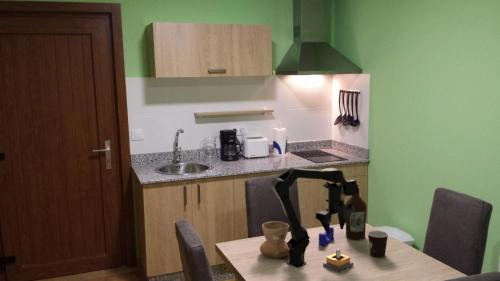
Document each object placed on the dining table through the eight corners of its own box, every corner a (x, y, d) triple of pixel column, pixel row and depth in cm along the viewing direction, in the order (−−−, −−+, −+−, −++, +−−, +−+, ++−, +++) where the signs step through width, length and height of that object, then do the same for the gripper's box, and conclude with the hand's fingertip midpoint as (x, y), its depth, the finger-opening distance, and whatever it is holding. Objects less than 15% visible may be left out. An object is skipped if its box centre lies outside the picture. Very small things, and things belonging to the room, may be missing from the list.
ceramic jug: (292, 262, 199) (292, 230, 197) (259, 262, 199) (259, 230, 198) (290, 247, 217) (290, 218, 215) (260, 247, 217) (259, 218, 216)
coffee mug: (388, 259, 199) (388, 237, 198) (368, 258, 201) (368, 236, 199) (386, 249, 210) (386, 228, 209) (366, 248, 212) (367, 228, 211)
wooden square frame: (339, 267, 188) (339, 261, 188) (326, 262, 194) (326, 257, 193) (349, 262, 193) (349, 257, 193) (336, 258, 198) (336, 252, 198)
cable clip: (325, 237, 228) (325, 226, 228) (333, 239, 226) (333, 227, 225) (315, 245, 218) (315, 233, 217) (324, 247, 216) (324, 234, 215)
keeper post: (340, 272, 187) (340, 255, 186) (323, 265, 194) (323, 249, 193) (353, 266, 193) (353, 249, 192) (336, 260, 200) (336, 243, 199)
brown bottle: (343, 233, 233) (343, 186, 230) (364, 233, 233) (364, 185, 229) (346, 240, 223) (346, 191, 219) (368, 240, 222) (369, 191, 219)
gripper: (334, 205, 185) (334, 241, 187) (363, 196, 197) (363, 231, 199) (314, 199, 194) (314, 234, 196) (343, 192, 205) (343, 225, 208)
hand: (334, 231), depth 199 cm, fingers open, 9 cm apart
